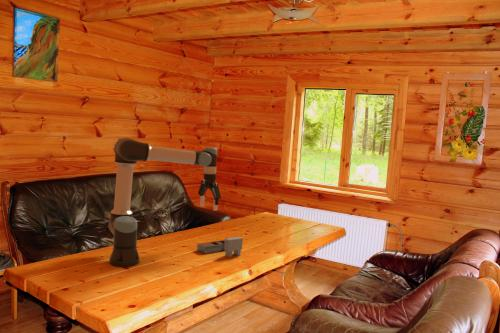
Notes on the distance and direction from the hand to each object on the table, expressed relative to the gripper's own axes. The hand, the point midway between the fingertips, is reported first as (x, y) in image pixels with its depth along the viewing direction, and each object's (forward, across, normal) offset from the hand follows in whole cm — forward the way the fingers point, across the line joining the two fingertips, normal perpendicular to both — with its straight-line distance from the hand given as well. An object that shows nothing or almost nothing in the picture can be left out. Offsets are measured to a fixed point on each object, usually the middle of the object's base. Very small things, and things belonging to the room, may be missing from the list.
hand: (208, 208), depth 260 cm
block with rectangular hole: (+24, -6, -5) cm, 26 cm away
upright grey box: (+25, -20, -4) cm, 32 cm away
